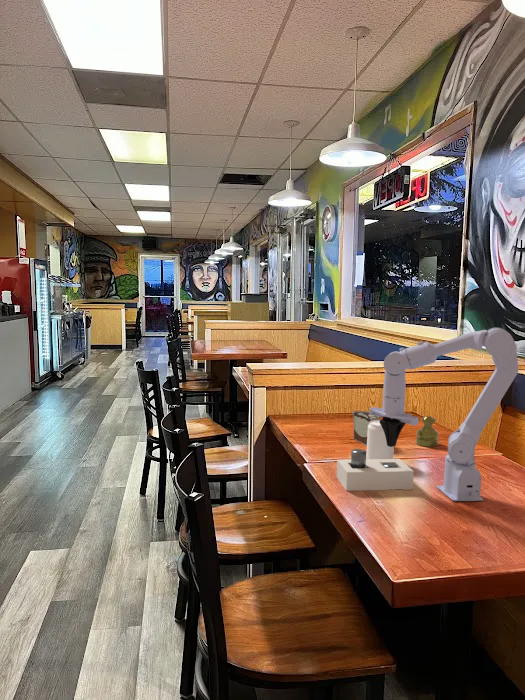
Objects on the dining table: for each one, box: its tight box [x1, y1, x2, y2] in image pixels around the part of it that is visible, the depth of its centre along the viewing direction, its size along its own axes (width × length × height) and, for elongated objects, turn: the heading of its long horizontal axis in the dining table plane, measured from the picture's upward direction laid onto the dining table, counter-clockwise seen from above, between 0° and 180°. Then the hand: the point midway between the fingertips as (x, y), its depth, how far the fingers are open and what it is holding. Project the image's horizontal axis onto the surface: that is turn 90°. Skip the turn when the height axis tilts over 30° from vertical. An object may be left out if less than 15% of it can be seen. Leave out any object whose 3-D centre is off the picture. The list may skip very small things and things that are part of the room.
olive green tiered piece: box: [415, 415, 440, 448], centre depth 174 cm, size 7×7×10 cm
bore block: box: [336, 458, 415, 492], centre depth 136 cm, size 10×18×5 cm, turn 96°
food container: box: [352, 410, 381, 447], centre depth 174 cm, size 12×6×10 cm, turn 22°
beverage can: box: [366, 419, 395, 459], centre depth 154 cm, size 8×8×12 cm
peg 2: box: [383, 463, 398, 468], centre depth 136 cm, size 4×4×4 cm
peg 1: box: [350, 448, 367, 469], centre depth 135 cm, size 4×4×4 cm
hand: (391, 445), depth 135 cm, fingers closed
